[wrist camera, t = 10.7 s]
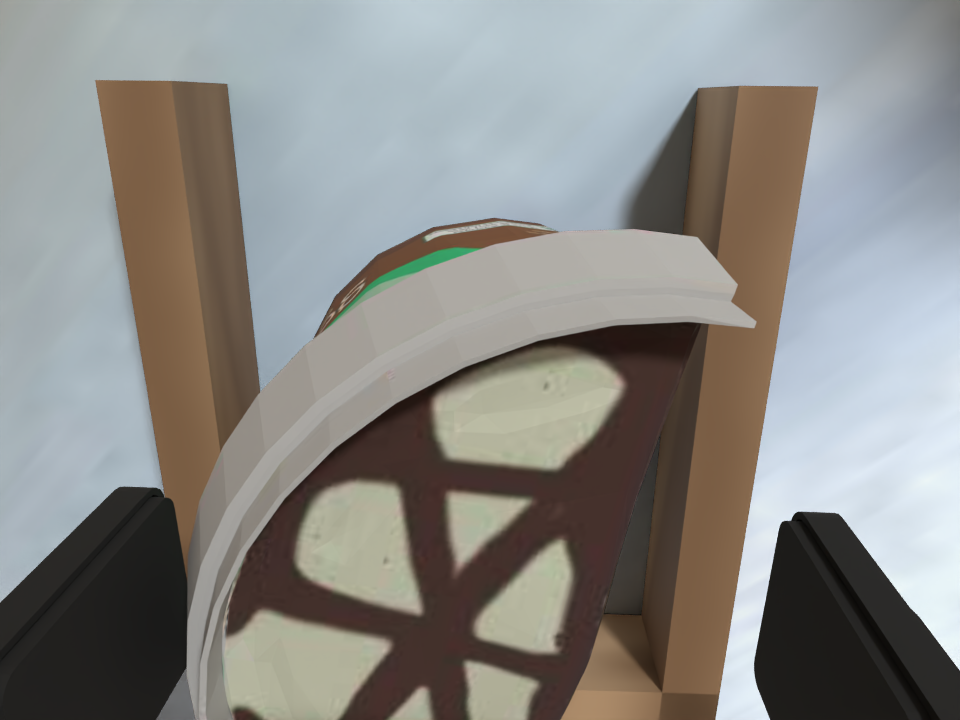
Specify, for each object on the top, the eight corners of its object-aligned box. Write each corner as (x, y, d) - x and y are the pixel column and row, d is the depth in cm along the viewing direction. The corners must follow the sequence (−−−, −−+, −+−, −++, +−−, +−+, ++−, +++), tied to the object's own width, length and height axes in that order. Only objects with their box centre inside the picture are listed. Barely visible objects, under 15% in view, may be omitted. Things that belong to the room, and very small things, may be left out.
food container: (296, 99, 16) (200, 150, 7) (556, 163, 17) (775, 277, 8) (231, 553, 20) (118, 967, 11) (444, 574, 21) (503, 957, 12)
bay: (763, 88, 16) (817, 86, 14) (685, 655, 22) (712, 737, 19) (164, 83, 17) (95, 80, 14) (240, 642, 22) (202, 721, 20)
